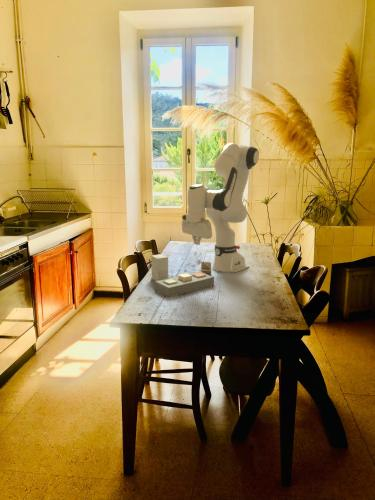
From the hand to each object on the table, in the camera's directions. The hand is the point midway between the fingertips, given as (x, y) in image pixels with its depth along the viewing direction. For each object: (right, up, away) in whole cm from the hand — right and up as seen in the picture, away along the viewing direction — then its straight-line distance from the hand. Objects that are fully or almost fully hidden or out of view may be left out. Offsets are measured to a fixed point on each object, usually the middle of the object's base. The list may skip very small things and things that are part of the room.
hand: (196, 244), depth 199 cm
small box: (-20, -19, +11) cm, 29 cm away
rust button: (+1, -20, +3) cm, 20 cm away
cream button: (-6, -19, -3) cm, 21 cm away
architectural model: (+6, -17, +21) cm, 27 cm away
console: (-6, -22, -2) cm, 23 cm away
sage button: (-13, -22, -8) cm, 27 cm away
